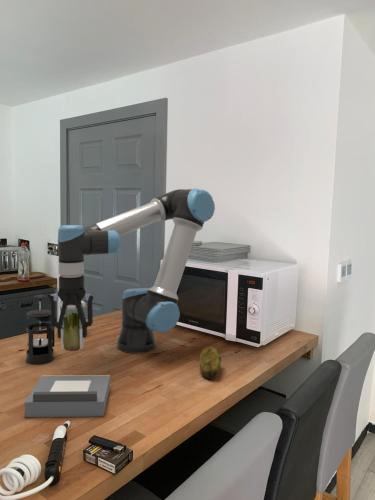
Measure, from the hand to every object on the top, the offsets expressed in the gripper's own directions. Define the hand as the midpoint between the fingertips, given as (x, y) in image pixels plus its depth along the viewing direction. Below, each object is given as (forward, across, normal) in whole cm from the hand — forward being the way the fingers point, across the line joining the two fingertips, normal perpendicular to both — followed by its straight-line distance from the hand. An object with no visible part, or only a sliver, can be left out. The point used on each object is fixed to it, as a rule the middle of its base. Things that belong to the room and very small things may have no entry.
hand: (72, 347), depth 126 cm
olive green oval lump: (+11, -44, -2) cm, 46 cm away
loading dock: (+10, -2, +16) cm, 19 cm away
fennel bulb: (+1, 0, 0) cm, 1 cm away
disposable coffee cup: (+10, +8, -41) cm, 43 cm away
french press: (+10, +14, -15) cm, 22 cm away
